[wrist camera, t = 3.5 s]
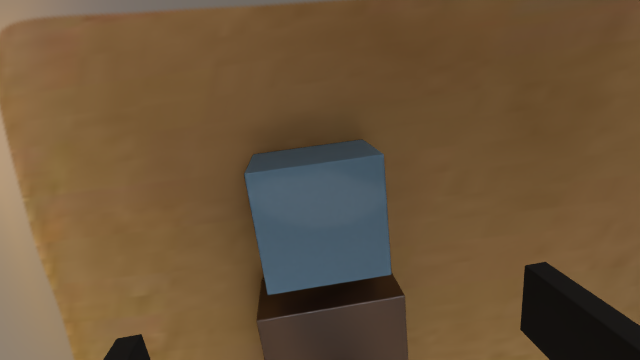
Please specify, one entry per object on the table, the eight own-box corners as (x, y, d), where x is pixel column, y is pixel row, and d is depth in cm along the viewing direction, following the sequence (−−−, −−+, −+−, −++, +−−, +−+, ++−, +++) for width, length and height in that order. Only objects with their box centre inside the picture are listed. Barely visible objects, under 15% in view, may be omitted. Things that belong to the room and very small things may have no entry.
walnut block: (384, 259, 25) (405, 295, 21) (391, 357, 28) (410, 407, 24) (261, 279, 24) (256, 320, 20) (280, 377, 27) (279, 432, 23)
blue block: (362, 139, 22) (383, 154, 18) (371, 237, 24) (391, 275, 20) (252, 154, 22) (243, 173, 17) (271, 253, 24) (267, 295, 19)
